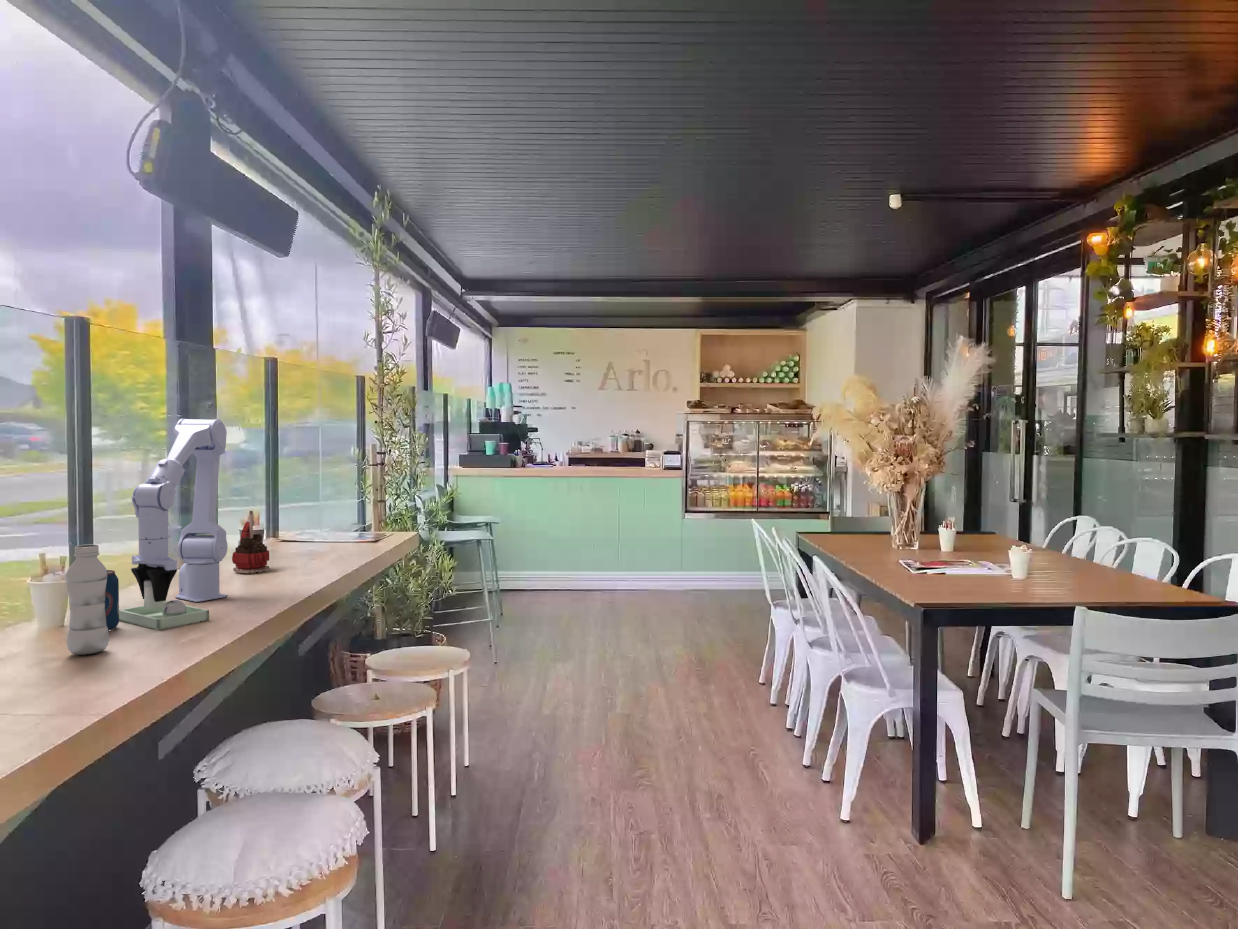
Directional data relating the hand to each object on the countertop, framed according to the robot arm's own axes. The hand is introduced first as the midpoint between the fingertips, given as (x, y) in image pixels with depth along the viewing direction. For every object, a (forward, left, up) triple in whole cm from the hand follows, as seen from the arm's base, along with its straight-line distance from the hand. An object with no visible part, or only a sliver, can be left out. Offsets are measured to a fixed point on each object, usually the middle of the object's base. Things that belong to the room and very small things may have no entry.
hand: (154, 599), depth 177 cm
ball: (+8, 0, -1) cm, 8 cm away
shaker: (0, 0, -2) cm, 2 cm away
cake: (-36, +47, -4) cm, 59 cm away
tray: (+3, 0, -4) cm, 5 cm away
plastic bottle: (+18, -22, -4) cm, 29 cm away
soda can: (+1, -12, -4) cm, 13 cm away
